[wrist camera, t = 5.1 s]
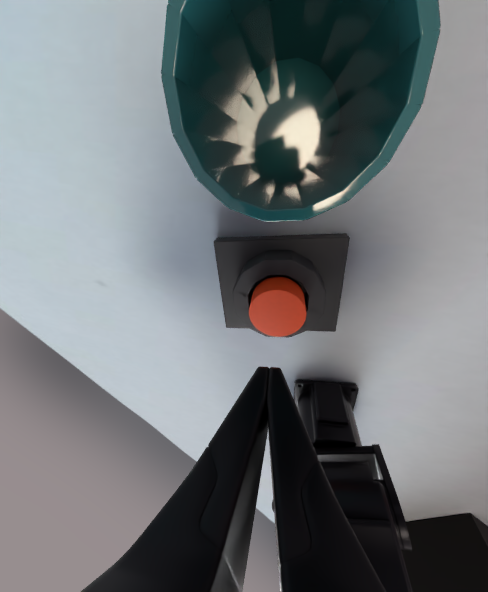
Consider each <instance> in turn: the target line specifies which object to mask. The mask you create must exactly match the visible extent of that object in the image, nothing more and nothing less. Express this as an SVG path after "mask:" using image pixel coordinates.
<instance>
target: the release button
mask: <svg viewBox="0 0 488 592" xmlns="http://www.w3.org/2000/svg"><path fill="white" fill-rule="evenodd" d="M249 317H250V320H251V322H252V324H253V325H254V326H255V327H256V328H257V329H258V330H259V331H261V332H262V333H264V334H267V335H270V336H277V337H281V336H287V335H290V334H293V333H295V332H296V331H298V330H299V329H300V328H301V327H302V325H303V324H304V322H305V320H306V305H305V297H304V293H303V291H302V289H301V287H300V286H299V285H298V284H297V283H296V282H294V281H293V280H291V279H289V278H285V277H270V278H267V279H265V280H263V281H261V282H260V283H259V284H258V285H257V286H256V288H255V289H254V291H253V295H252V299H251V303H250V307H249Z"/></svg>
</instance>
